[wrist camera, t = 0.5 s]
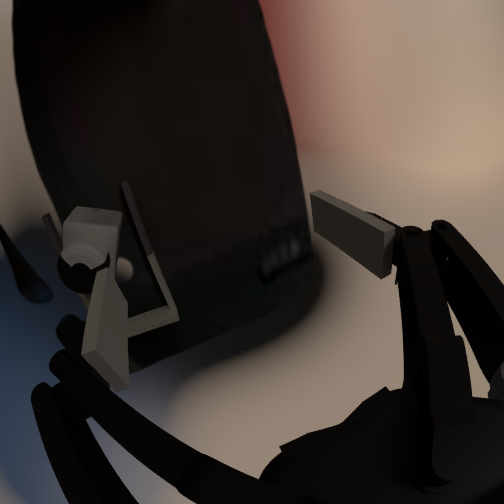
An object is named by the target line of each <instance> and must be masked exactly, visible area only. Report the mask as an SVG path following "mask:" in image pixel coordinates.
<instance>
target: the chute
mask: <svg viewBox="0 0 504 504" xmlns="http://www.w3.org/2000/svg"><path fill="white" fill-rule="evenodd" d="M121 185H122V188H123V191H124V194H125V197H126V200H127V203H128V206H129V209H130V212H131V215H132V218H133V220H134V223H135V226H136V229H137V231H138V234H139V237H140V239H141V242H142V244H143V247H144V249H145V252H146V254H147V257H148V259H149V262H150V264H151V267H152V269H153V271H154V274H155V276H156V278H157V281H158V283H159V285H160V288H161V290H162V292H163V294H164V297H165V299H166V301H167V303H168V305H166V306H163V307H160V308H157V309H154V310H151V311H148V312H146V313H143V314H140V315H137V316H134V317H131V318H128V319H127V336H128V337H131V336H134V335H137V334H140V333H143V332H146V331H149V330H152V329H155V328H158V327H161V326H164V325H167V324H170V323H173V322H176V321H179V316H178V312H177V307H176V305H175V303H174V300H173V298H172V296H171V293H170V291H169V289H168V286H167V284H166V282H165V279H164V277H163V275H162V272H161V270H160V267H159V265H158V262H157V260H156V257H155V255H154V252H153V249H152V247H151V244H150V242H149V239H148V236H147V233H146V231H145V228H144V225H143V222H142V220H141V217H140V214H139V211H138V208H137V205H136V202H135V199H134V196H133V193H132V190H131V187H130V183H129V180H128V179H127V180H125V181H122V182H121ZM42 220H43V223H44V225H45V228H46V230H47V232H48V235H49V237H50V239H51V241H52V243H53V246H54V248H55V250H56V252H57V254H58V256H60V254H61V252H62V251H63V244H62V242H61V239H60V237H59V235H58V232H57V230H56V228H55V225H54V223H53V220H52V218H51V216H50V213H48V214H45V215H44V216H43V217H42ZM78 294H79V296H80V298H81V299H82V301H83V303H84V304H85V306H86V307H87V309H89V304H90V300H91V298H90V296H89V295H88V294H81V293H78Z"/></svg>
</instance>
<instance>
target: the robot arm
mask: <svg viewBox="0 0 504 504" xmlns="http://www.w3.org/2000/svg"><path fill="white" fill-rule="evenodd" d="M310 199H311V207H312V216H313V225H314V231H315V232H317V233H318V234H319V235H321V236H322V237H324V238H325V239H327V240H328V241H329V242H331V243H332V244H334V245H335V246H337V247H338V248H339V249H341V250H342V251H343V252H345V253H346V254H347V255H349V256H350V257H352V258H353V259H354V260H356V261H357V262H358V263H360V264H361V265H363V266H364V267H365V268H366V269H368V270H369V271H370V272H372V273H373V274H375V275H376V276H377V277H379V278H380V279H383V278H385V277H386V276H388V275H390V274H391V269H392V264H393V265H395V266H396V267H397V272H396V279H395V284H397V282H398V289H399V298H400V307H401V318H402V331H403V352H404V381H403V386H402V388H401V389H396V390H392V391H389V390H388V388H387V387H384V388H382V389H381V390H379V391H378V392H377V393H375V394H374V395H372V396H371V397H369V398H368V399H366V400H365V401H363V402H362V403H361V404H360V405H359V406H358V407H357V408H356V409H355V410H354V411H353V412H352V413H351V414H350V415H349V416H348V417H347V418H346V419H345V420H344V421H343V422H342V423H340V424H338V425H335V426H332V427H328V428H325V429H322V430H318V431H314V432H310V433H307V434H305V435H303V436H301V437H299V438H297V439H295V440H292V441H290V442H288V443H286V444H284V445H281V446H279V447H280V449H281V451H282V452H281V453H280V454H278V455H277V456H276V457H275V458H274V459H272V460H271V461H270V462H269V464H268V465H267V466H266V467H265V469H264V470H263V472H262V474H261V476H260V478H259V479H257V478H254V477H252V476H249V475H247V474H245V473H243V472H240V471H238V470H236V469H234V468H232V467H230V466H228V465H226V464H224V463H221V462H220V461H218V460H216V459H214V458H212V457H210V456H208V455H206V454H202V453H200V452H199V451H197V450H195V449H193V448H192V447H190V446H188V445H186V444H185V443H183V442H181V441H180V440H178V439H176V438H175V437H173V436H172V435H170V434H169V433H167V432H166V431H164V430H163V429H161V428H160V427H158V426H156V425H155V424H154V423H152V422H151V421H150V420H148V419H147V418H145V417H144V416H142V415H141V414H140V413H139V412H137V411H136V410H134V409H133V408H132V407H131V406H129V405H128V404H127V403H126V402H124V401H123V400H122V399H121V398H119V397H118V396H117V395H115V393H113V392H112V391H111V390H110V386H111V387H112V388H113V389H114V390H115V391H116V392H118V391H122V390H125V389H129V388H130V380H129V365H128V336H127V308H128V303H127V301H126V299H125V298H124V296H123V294H122V292H121V291H120V289H119V287H118V285H117V284H116V282H115V280H114V278H113V276H112V274H111V272H110V271H109V269H108V267H107V268H105V269H102V270H100V271H98V272H97V274H96V278H95V282H94V286H93V290H92V295H91V300H90V304H89V309H88V315H87V320H86V321H85V322H82V323H81V324H80V325H79V327H78V329H77V331H76V336H75V342H74V348H73V353H72V352H71V351H70V350H68V349H62V350H60V351H58V352H57V353H55V355H54V356H53V357H52V358H51V361H50V363H49V369H50V371H51V372H52V373H53V374H54V375H55V376H56V377H57V378H58V379H59V380H60V381H61V382H60V383H58V384H56V385H55V386H53V387H50V386H49V385H48V384H47V383H45V382H43V383H40V384H38V385H37V386H36V387H35V388H34V389H33V391H32V394H31V403H32V407H33V410H34V415H35V418H36V422H37V425H38V429H39V432H40V435H41V439H42V442H43V444H44V447H45V450H46V453H47V456H48V458H49V461H50V463H51V466H52V468H53V471H54V473H55V475H56V478H57V480H58V482H59V484H60V486H61V489H62V491H63V493H64V495H65V497H66V499H67V500H68V503H69V504H139V503H138V502H137V501H136V499H135V498H134V497H133V496H132V494H131V493H130V492H129V490H128V489H127V488H126V486H125V485H124V483H123V482H122V481H121V479H120V477H119V476H118V475H117V473H116V472H115V470H114V469H113V467H112V465H111V464H110V463H109V461H108V459H107V457H106V456H105V454H104V452H103V451H102V449H101V447H100V446H99V444H98V442H97V440H96V439H95V437H94V435H93V433H92V431H91V429H90V427H89V425H88V424H87V421H86V419H87V418H89V417H92V418H93V419H94V420H95V421H96V422H97V423H98V424H99V425H100V426H101V427H102V428H103V429H104V430H105V431H106V432H107V433H108V434H109V435H111V437H113V438H114V439H115V440H116V441H117V442H118V443H119V444H120V445H121V446H122V447H123V448H125V449H126V450H127V451H128V452H129V453H130V454H132V455H133V456H134V457H135V458H136V459H138V460H139V461H140V462H141V463H143V464H144V465H145V466H146V467H148V468H149V469H150V470H152V471H153V472H154V473H156V474H157V475H158V476H160V477H161V478H163V479H164V480H165V481H167V482H168V483H170V484H171V485H172V486H174V487H175V488H176V489H177V490H178V491H179V492H180V493H181V494H182V495H183V496H185V497H186V498H188V499H189V500H191V501H193V502H194V503H196V504H504V285H503V283H502V282H501V281H500V280H499V278H498V277H497V276H496V274H495V273H494V272H493V271H492V269H491V268H490V267H489V266H488V264H487V263H486V262H485V261H484V260H483V258H482V257H481V256H480V255H479V254H478V252H477V251H476V250H475V249H474V248H473V247H472V246H471V245H470V243H469V242H468V241H467V240H466V239H465V238H464V237H463V236H462V235H461V234H460V233H459V232H458V231H457V230H456V228H455V227H454V226H452V224H450V223H449V222H447V221H445V220H435V221H433V222H432V226H431V230H427V231H423V230H422V229H420V228H419V227H415V226H405V227H403V228H402V227H400V226H398V225H396V224H394V223H392V222H390V221H388V220H386V219H384V218H381V216H379V215H376V214H374V213H370V212H365V211H363V210H361V209H358V208H357V207H354V206H352V205H350V204H348V203H346V202H344V201H342V200H340V199H338V198H336V197H334V196H331V195H329V194H327V193H325V192H323V191H320V190H319V191H315V192H312V193H310ZM447 258H448V259H447ZM447 302H448V304H449V305H450V307H451V309H452V311H453V313H454V314H455V316H456V318H457V320H458V322H459V324H460V326H461V328H462V330H463V332H464V334H465V336H466V338H467V340H468V342H469V344H470V346H471V348H472V350H473V353H474V355H475V357H476V360H477V362H478V364H479V366H480V368H481V370H482V373H483V374H484V376H485V378H486V379H487V381H488V382H489V384H490V390H489V392H488V398H479V397H472V389H471V381H470V373H469V367H468V361H467V355H466V350H465V345H464V341H463V338H462V337H461V336H460V335H459V336H455V333H454V329H453V324H452V320H451V316H450V311H449V307H448V304H447Z"/></svg>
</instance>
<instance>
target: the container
mask: <svg viewBox="0 0 504 504" xmlns="http://www.w3.org/2000/svg"><path fill="white" fill-rule="evenodd" d="M122 216H123V214H122V212H120V211H112V210H104V209H96V208H87V207H79V206H78V207H76V208H75V209H74V210H73V212H72V213H71V214H70V215H69V216H68V218H67V219H66V220H65V221H64V223H63V251H62V252H61V254H60V256H59V259H58V264H57V268H58V273H59V276H60V278H61V280H62V281H63V283H64V284H65V285H66V286H67V287H68V288H69V289H71V290H73V291H75V292H77V293H81V294H91V293H92V290H93V286H94V282H95V278H96V274H97V272H98V271H100V270H102V269H105V268H107V267H108V269H109V271H110V272H111V274H112V276H113V278H115V273H116V266H117V260H118V252H119V242H120V232H121V223H122Z"/></svg>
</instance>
